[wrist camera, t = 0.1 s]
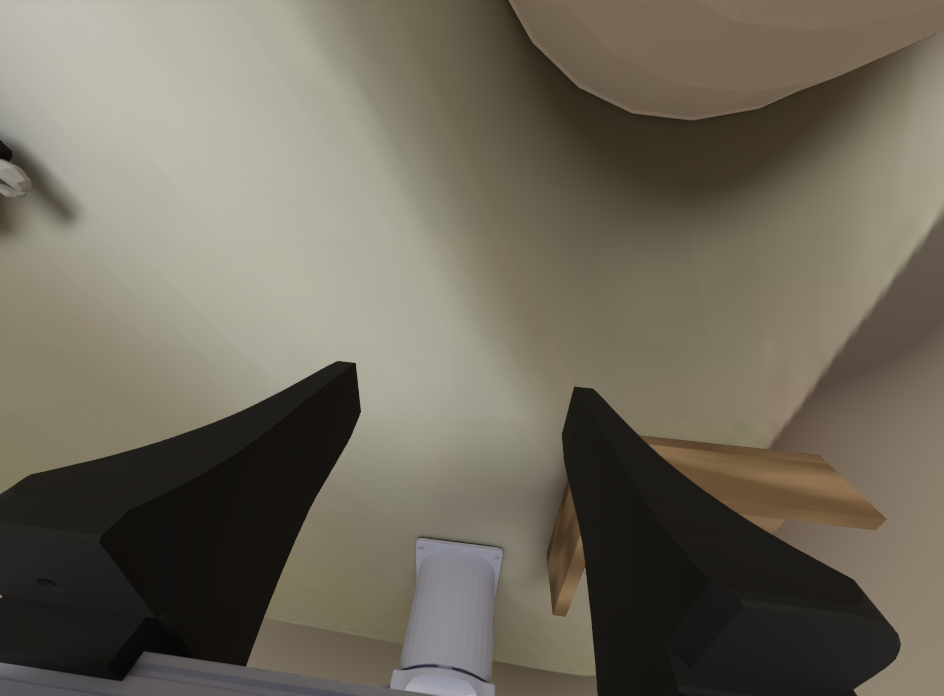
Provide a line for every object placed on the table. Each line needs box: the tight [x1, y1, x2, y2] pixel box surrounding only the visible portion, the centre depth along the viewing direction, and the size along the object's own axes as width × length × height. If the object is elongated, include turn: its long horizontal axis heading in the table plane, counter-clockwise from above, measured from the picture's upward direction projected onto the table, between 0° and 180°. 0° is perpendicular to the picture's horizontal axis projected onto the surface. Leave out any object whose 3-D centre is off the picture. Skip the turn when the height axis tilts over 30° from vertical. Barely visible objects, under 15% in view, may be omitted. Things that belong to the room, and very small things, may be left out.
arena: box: [547, 436, 886, 617], centre depth 26 cm, size 15×16×5 cm
